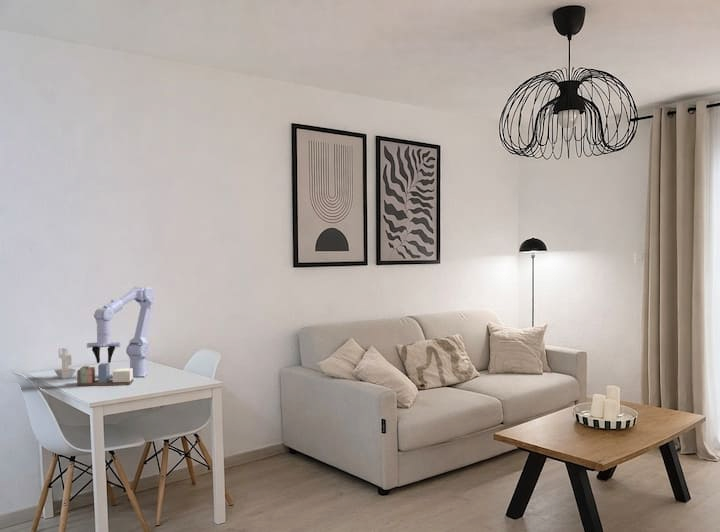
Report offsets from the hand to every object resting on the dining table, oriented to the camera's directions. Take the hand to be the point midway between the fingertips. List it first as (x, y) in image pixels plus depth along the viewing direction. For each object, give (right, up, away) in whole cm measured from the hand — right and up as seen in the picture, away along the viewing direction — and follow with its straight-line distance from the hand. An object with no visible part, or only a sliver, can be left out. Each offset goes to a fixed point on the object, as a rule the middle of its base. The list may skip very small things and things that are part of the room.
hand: (103, 362), depth 289 cm
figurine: (-25, -10, +14) cm, 30 cm away
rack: (0, -10, 0) cm, 10 cm away
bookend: (+8, -9, +2) cm, 12 cm away
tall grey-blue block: (0, -9, 0) cm, 9 cm away
